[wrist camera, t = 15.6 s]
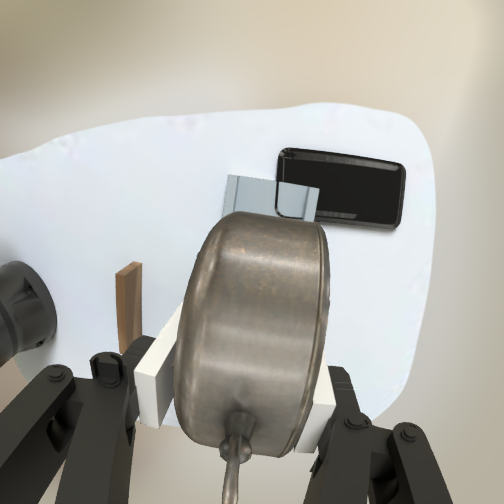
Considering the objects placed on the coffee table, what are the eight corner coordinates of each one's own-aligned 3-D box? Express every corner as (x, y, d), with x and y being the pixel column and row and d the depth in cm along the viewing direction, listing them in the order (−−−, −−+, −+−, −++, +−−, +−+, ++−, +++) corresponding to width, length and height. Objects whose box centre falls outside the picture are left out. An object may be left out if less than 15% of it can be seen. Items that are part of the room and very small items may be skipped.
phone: (279, 146, 31) (406, 164, 30) (278, 147, 32) (403, 164, 31) (273, 218, 33) (399, 231, 32) (273, 216, 34) (396, 229, 33)
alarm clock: (278, 357, 21) (288, 577, 5) (205, 346, 21) (140, 558, 5) (307, 207, 18) (486, 364, 3) (221, 194, 18) (26, 306, 3)
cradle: (216, 295, 36) (212, 303, 34) (231, 174, 33) (228, 174, 30) (293, 307, 36) (294, 316, 34) (315, 187, 32) (319, 188, 30)
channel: (134, 335, 39) (119, 353, 34) (133, 261, 36) (115, 273, 31) (205, 351, 39) (196, 372, 34) (212, 275, 36) (203, 291, 31)
